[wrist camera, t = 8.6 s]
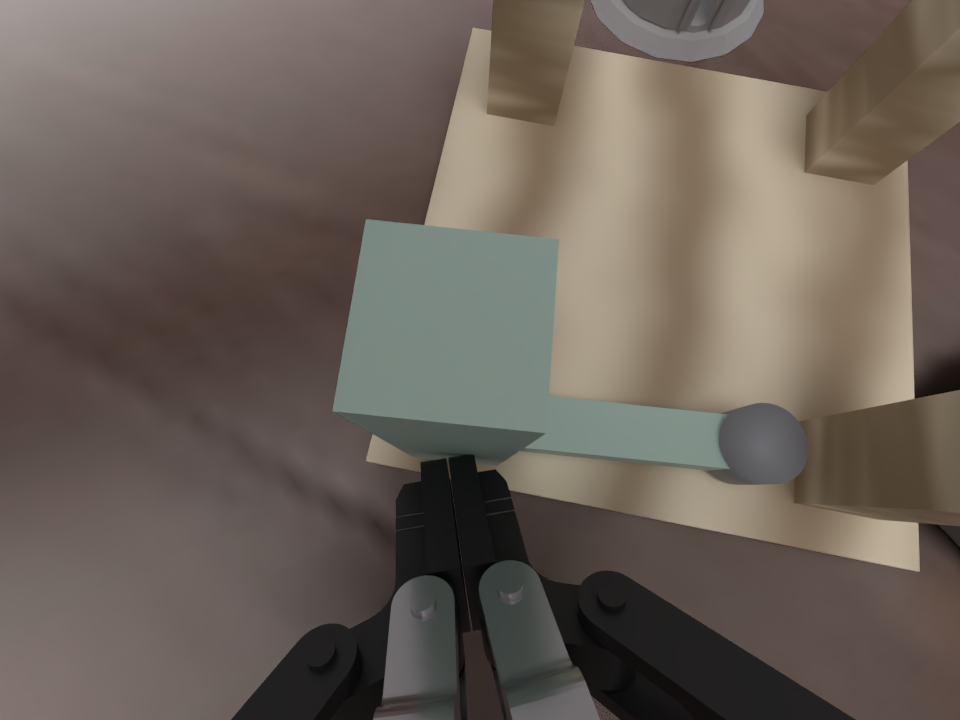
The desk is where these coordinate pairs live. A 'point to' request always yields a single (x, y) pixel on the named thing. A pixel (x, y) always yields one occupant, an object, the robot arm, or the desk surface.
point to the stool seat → (721, 266)
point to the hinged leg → (512, 367)
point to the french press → (681, 25)
